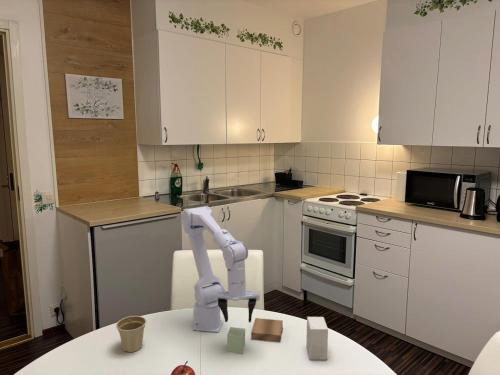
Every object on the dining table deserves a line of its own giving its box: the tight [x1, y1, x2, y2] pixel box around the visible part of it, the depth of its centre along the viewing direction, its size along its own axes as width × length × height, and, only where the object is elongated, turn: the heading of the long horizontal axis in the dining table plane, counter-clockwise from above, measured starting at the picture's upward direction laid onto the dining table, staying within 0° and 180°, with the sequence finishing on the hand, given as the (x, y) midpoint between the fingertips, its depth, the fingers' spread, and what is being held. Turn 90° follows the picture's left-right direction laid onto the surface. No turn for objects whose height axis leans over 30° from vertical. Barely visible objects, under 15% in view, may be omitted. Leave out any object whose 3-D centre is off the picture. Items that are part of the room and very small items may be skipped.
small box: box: [306, 316, 329, 361], centre depth 121 cm, size 8×6×10 cm
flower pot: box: [115, 315, 147, 353], centre depth 124 cm, size 9×9×9 cm
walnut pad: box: [250, 317, 283, 343], centre depth 133 cm, size 10×10×3 cm
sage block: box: [226, 326, 246, 355], centre depth 123 cm, size 5×5×6 cm
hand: (238, 320), depth 122 cm, fingers open, 7 cm apart
